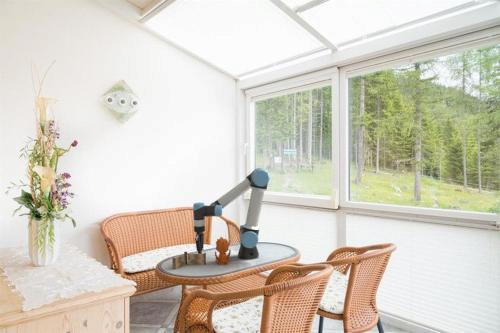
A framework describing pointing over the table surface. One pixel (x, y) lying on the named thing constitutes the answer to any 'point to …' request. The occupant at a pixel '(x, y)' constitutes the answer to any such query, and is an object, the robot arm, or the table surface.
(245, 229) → the robot arm
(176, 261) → the fence panel fixed
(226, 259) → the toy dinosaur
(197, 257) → the fence panel hinged
